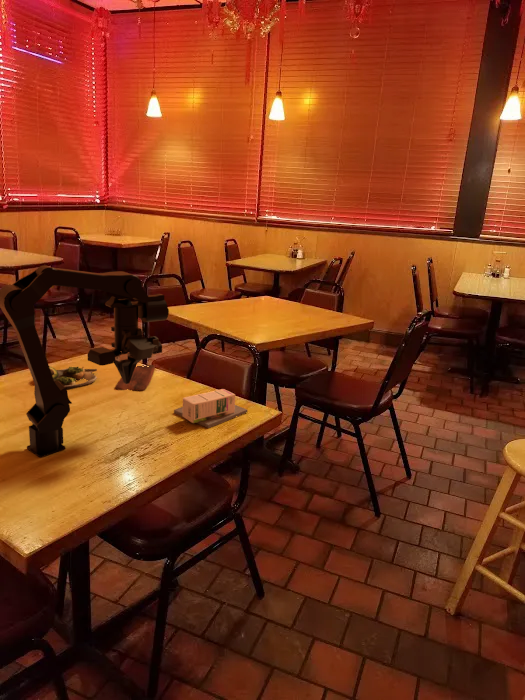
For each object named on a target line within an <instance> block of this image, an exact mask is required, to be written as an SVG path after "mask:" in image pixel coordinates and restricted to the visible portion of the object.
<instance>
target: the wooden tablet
mask: <svg viewBox="0 0 525 700" xmlns="http://www.w3.org/2000/svg"><path fill="white" fill-rule="evenodd" d="M141 365H142V366H144V365H146V366H144V367H142V366H137V367H135V369H134V372H133V375H132V377H131V380H130V383H128V384H125V383H124V381H123V379H122V377H120V379H119V380H118V382H117V383H116V385H115V390H116V391H128V390H129V391H131V390H132V391H131V392H144V391H146V389H147V388H148V387H149V386H150V383H151V381H152V378H153V376H154V373H155V369H156V365H154V364H144V365H143V364H141ZM147 366H149V367H147ZM127 389H128V390H127Z"/></svg>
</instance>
